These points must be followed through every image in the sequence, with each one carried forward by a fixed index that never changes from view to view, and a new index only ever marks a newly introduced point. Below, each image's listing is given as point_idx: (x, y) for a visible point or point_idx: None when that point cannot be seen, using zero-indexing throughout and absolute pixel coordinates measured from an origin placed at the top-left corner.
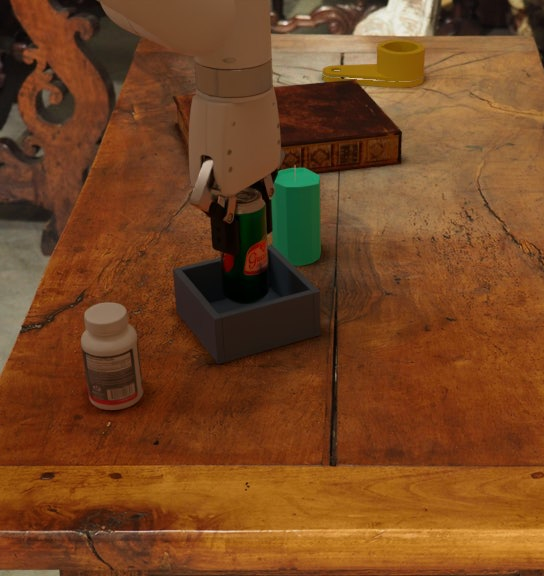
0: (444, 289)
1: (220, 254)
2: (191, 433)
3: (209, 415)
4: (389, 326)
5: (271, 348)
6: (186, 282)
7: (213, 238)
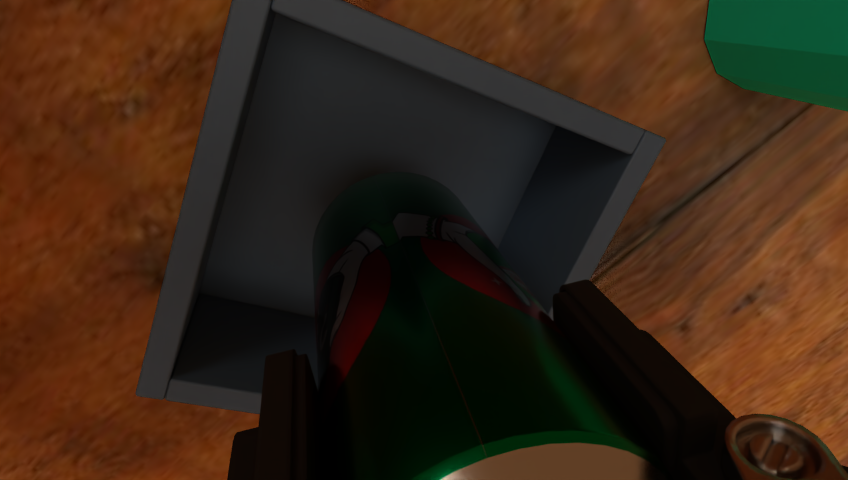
0: (748, 384)
1: (333, 292)
2: None
3: (27, 434)
4: None
5: None
6: (212, 122)
7: (230, 462)
